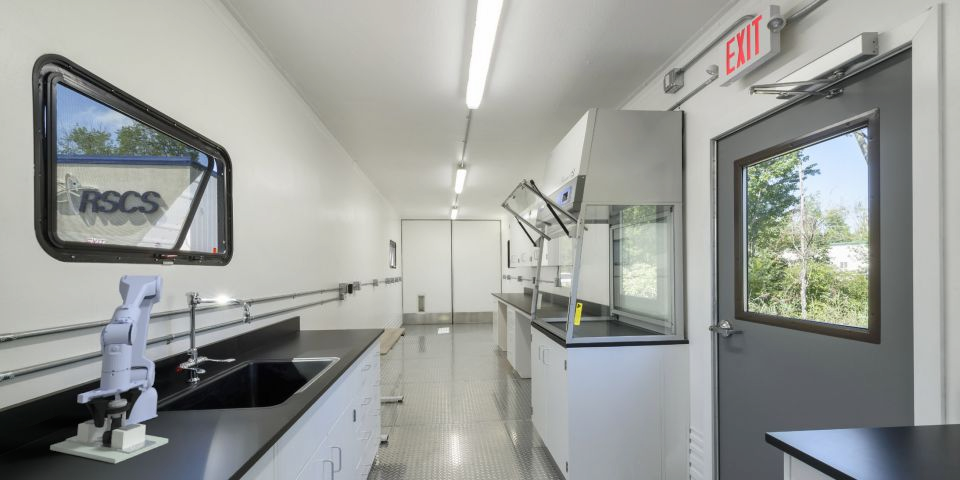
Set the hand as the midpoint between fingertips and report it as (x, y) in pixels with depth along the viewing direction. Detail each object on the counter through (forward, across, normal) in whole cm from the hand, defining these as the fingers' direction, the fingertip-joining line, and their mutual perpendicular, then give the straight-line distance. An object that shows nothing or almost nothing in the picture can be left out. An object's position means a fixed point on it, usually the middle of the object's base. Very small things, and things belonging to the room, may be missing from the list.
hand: (112, 422), depth 103 cm
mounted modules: (+4, 0, 0) cm, 4 cm away
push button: (+5, 0, -1) cm, 5 cm away
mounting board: (+6, 0, 0) cm, 6 cm away
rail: (+6, 0, 0) cm, 6 cm away
